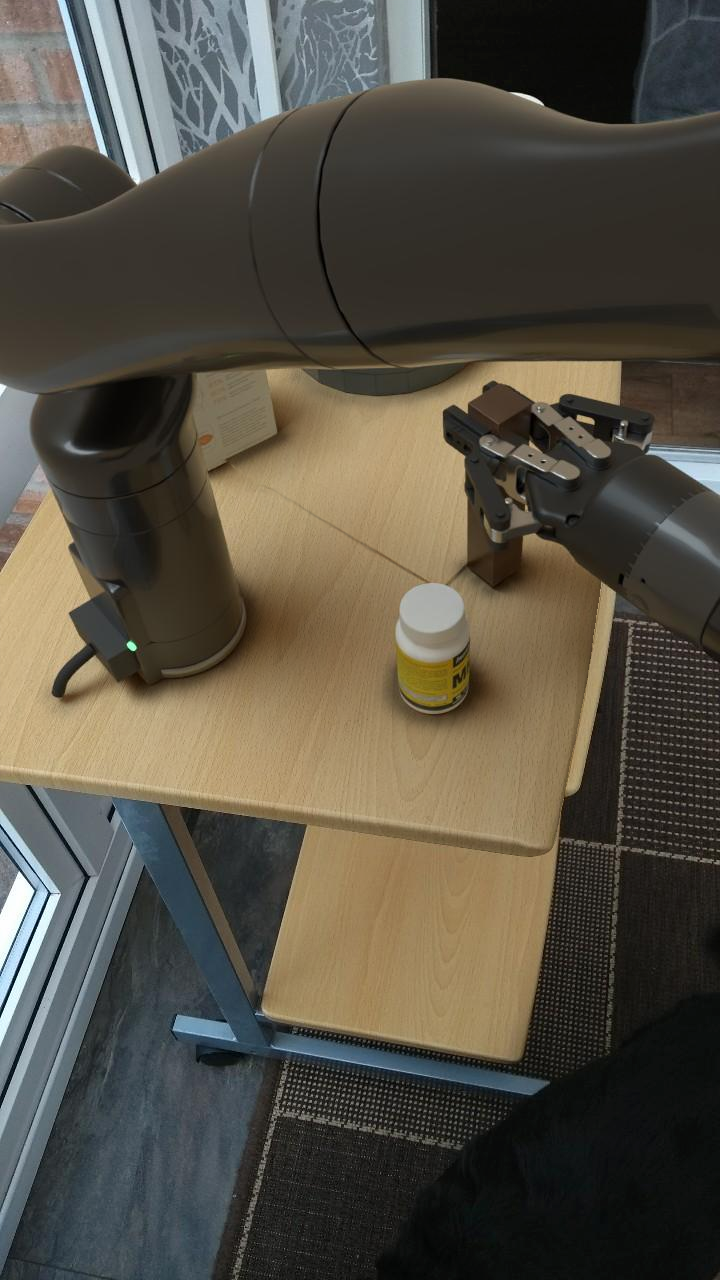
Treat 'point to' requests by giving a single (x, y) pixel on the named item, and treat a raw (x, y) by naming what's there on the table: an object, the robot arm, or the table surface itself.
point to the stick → (512, 424)
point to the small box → (232, 413)
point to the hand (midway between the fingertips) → (467, 406)
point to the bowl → (385, 378)
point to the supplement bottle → (432, 648)
